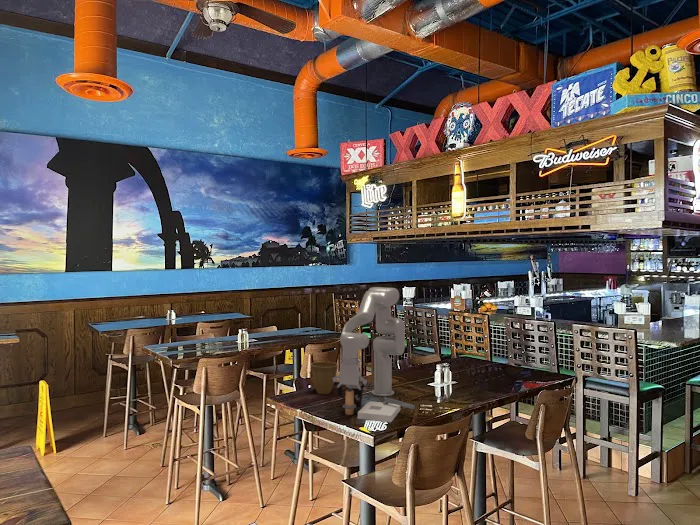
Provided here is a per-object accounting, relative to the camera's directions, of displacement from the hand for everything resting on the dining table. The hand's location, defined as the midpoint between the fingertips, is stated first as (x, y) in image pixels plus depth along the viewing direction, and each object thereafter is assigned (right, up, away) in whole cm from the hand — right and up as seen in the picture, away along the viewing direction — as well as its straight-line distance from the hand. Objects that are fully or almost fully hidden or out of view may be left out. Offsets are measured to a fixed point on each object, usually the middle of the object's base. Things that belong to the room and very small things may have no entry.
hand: (349, 396), depth 253 cm
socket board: (+14, -9, 0) cm, 17 cm away
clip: (+24, -5, +1) cm, 24 cm away
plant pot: (-14, -8, +38) cm, 41 cm away
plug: (0, -8, 0) cm, 8 cm away
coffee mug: (+1, -8, +13) cm, 16 cm away
